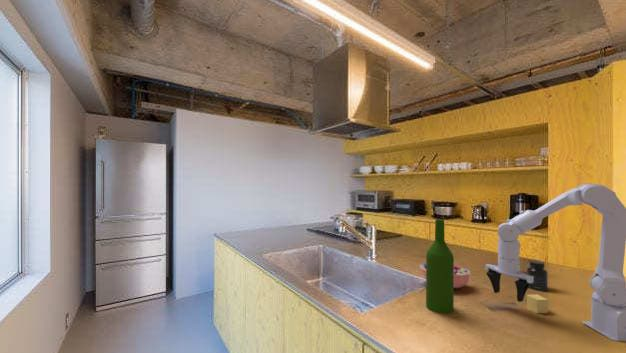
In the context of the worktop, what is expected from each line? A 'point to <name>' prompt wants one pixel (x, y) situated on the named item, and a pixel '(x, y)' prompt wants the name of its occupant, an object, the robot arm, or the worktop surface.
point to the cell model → (459, 275)
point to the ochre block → (537, 303)
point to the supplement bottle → (538, 276)
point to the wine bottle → (439, 274)
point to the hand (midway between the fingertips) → (508, 296)
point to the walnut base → (500, 306)
